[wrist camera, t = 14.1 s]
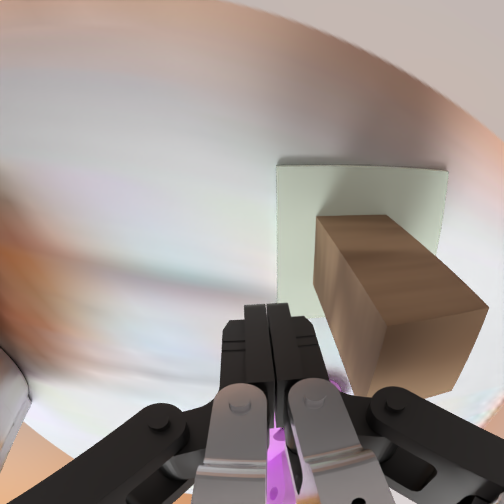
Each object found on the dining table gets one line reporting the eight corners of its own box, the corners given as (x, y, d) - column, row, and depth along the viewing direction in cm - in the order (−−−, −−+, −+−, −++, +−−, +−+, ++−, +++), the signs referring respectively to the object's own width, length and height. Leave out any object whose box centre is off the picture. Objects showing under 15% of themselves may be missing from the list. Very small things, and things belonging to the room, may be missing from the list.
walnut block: (377, 279, 18) (451, 390, 10) (312, 284, 18) (360, 413, 10) (386, 214, 16) (489, 307, 8) (315, 216, 16) (387, 325, 8)
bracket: (272, 458, 27) (277, 516, 21) (221, 448, 26) (221, 511, 20) (354, 384, 23) (379, 456, 16) (296, 368, 21) (313, 451, 15)
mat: (421, 302, 19) (423, 305, 19) (276, 316, 19) (277, 320, 19) (445, 170, 15) (448, 171, 15) (276, 165, 15) (277, 167, 15)
